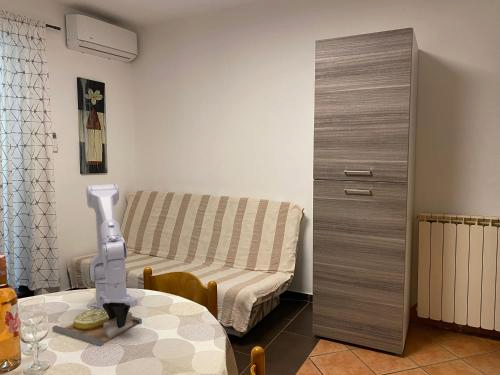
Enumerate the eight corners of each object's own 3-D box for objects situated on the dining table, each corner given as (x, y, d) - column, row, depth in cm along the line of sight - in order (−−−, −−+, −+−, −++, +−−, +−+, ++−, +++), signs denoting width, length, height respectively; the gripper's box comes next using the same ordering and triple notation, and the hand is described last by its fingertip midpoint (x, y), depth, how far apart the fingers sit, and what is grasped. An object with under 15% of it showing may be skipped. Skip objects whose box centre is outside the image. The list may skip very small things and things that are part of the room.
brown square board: (62, 330, 112) (61, 316, 112) (97, 314, 124) (96, 300, 123) (103, 343, 104) (102, 327, 104) (137, 324, 115) (136, 310, 115)
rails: (96, 311, 126) (96, 307, 126) (142, 323, 117) (141, 318, 116) (52, 331, 112) (52, 327, 112) (100, 347, 102) (100, 342, 102)
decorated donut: (117, 319, 120) (117, 308, 120) (95, 334, 110) (95, 322, 109) (90, 316, 123) (89, 305, 122) (66, 331, 112) (65, 319, 112)
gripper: (87, 282, 109) (90, 326, 110) (123, 289, 102) (125, 336, 103) (107, 275, 115) (109, 317, 116) (141, 281, 108) (143, 326, 109)
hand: (118, 325), depth 110 cm, fingers closed on brown square board, 2 cm apart
